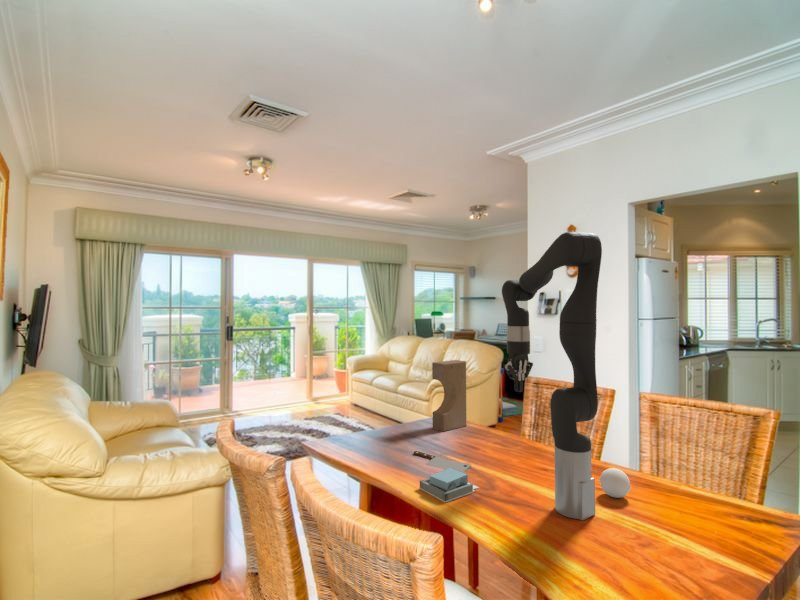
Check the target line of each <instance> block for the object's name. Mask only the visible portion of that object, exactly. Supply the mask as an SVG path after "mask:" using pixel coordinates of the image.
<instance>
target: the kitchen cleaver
mask: <svg viewBox="0 0 800 600" xmlns="http://www.w3.org/2000/svg"><path fill="white" fill-rule="evenodd" d="M413 456H417V457H420V458H424V459H428V460H429V461H428V462H426V463H425V465H426V466H430V467H433V468H437V469H442V470H446V469H449V468H452V469H456V470H459V471H461V472H464V471H465V472H466V471H468V470H469V469H471V468H472V464H470V463H466V462H460V461H453V460H449V459H446V458H442V457H439V456H434V455H432V454H429V453H425V452H421V451H419V450H415V451H413ZM465 472H464V473H465Z"/></svg>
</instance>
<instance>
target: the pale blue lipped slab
mask: <svg viewBox="0 0 800 600" xmlns="http://www.w3.org/2000/svg"><path fill="white" fill-rule="evenodd" d="M468 476H469V474H468V473H467V472H461V471H459V470H456V469H452V468H449V469H446V470H445V469H443V470H441V471H439V472H436V473H433V474H431V475H429V478H430V484H431V485H433V486H435V487H437V488H439V489H441V490H442V491H444V492H447V491H450V490H453V489H455V488H458V487H461V486H464V485H467V484H468V482H469V481H468V480H469V479H468Z"/></svg>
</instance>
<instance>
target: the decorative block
mask: <svg viewBox="0 0 800 600" xmlns="http://www.w3.org/2000/svg"><path fill="white" fill-rule="evenodd" d="M431 367H432V369H431V371H432V373H431V374H432V375H431V376H432V377H431V378H432V380H437V381H438V382H440V383H441V386H442V388H443V400H442V402H441V404H440V405H439V407H438V408H437V409H436V410H434V411H432V429H433V430H437V431H439V432H442V433H443V432H447V431H451V430H455V429H460V428H463V427H466V426H467V361H466V360H459V359H454V360H453V359H452V360H445V361H434V362H432V363H431Z"/></svg>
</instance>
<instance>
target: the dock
mask: <svg viewBox="0 0 800 600" xmlns="http://www.w3.org/2000/svg"><path fill="white" fill-rule="evenodd" d="M419 489H420V490H421V491H423V492H425V493H427V494H428V495H430V496H432V497H434V498H436V499H438V500H439V501H441V502H443V503H448V502H451V501H453V500H456V499H459V498H462V497H465V496H468V495H470V494H473V493H475V492H476V490H477V489H480V487H479V486H477V485H475V484H472V483H470V482H469V481H468V484H467V485H464V486H461V487H458V488H455V489H453V490H450V491H447V492H444V491H442V490H441V489H439V488H437V487H435V486H433V485H431V484H430V477H427V478H425V479H421V480H419Z"/></svg>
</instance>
